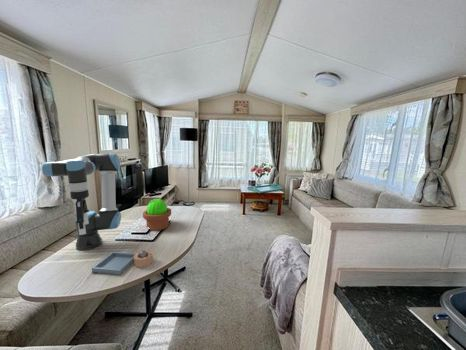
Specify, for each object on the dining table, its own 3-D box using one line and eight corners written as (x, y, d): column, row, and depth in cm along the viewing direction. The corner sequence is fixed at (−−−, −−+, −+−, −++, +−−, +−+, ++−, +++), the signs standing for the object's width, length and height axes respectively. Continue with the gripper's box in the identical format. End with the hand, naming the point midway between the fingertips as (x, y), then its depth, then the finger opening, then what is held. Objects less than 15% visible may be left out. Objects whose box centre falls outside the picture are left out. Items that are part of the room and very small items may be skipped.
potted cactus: (175, 222, 186) (174, 195, 182) (163, 233, 165) (161, 203, 160) (153, 220, 190) (151, 194, 185) (138, 230, 168) (136, 201, 164)
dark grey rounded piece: (140, 257, 131) (139, 247, 129) (155, 259, 130) (154, 248, 128) (131, 267, 121) (130, 255, 120) (147, 269, 120) (146, 257, 118)
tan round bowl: (140, 257, 130) (140, 250, 130) (155, 258, 129) (154, 251, 128) (131, 266, 121) (130, 258, 120) (146, 268, 120) (146, 260, 119)
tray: (113, 256, 133) (112, 251, 132) (138, 258, 131) (137, 253, 130) (92, 272, 116) (91, 268, 116) (120, 275, 114) (119, 270, 113)
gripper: (74, 185, 115) (78, 221, 118) (65, 197, 93) (71, 240, 97) (90, 184, 118) (94, 219, 122) (85, 195, 97) (90, 237, 101)
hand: (84, 229), depth 110 cm, fingers open, 13 cm apart
